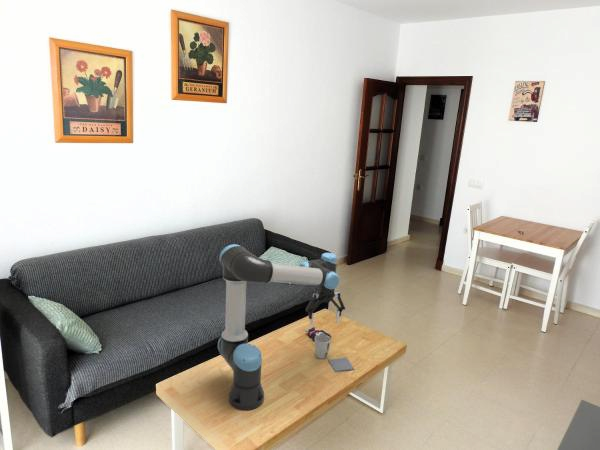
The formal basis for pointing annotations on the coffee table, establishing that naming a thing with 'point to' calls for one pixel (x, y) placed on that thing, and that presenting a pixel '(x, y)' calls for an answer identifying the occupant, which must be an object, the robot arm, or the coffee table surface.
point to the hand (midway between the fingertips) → (324, 323)
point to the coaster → (341, 364)
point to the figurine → (315, 332)
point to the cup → (322, 345)
